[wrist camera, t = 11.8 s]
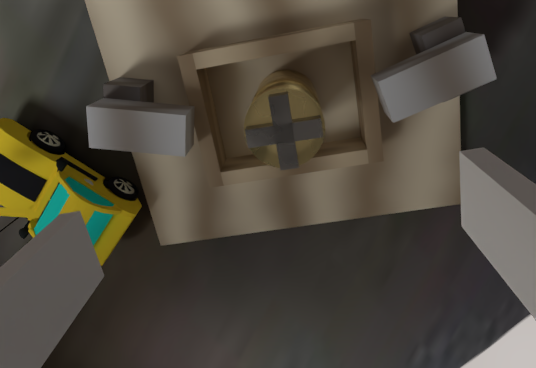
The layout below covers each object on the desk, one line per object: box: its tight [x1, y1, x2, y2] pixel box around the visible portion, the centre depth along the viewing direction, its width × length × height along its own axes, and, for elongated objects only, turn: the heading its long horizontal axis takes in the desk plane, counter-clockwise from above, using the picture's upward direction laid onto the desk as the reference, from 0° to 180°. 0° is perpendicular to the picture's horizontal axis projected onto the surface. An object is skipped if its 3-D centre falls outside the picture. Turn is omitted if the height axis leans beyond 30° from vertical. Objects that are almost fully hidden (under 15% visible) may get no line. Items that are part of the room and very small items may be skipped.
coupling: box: [244, 69, 325, 170], centre depth 27 cm, size 4×4×9 cm
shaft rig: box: [85, 0, 497, 246], centre depth 29 cm, size 25×20×7 cm
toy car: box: [0, 118, 142, 266], centre depth 32 cm, size 12×8×8 cm, turn 55°
